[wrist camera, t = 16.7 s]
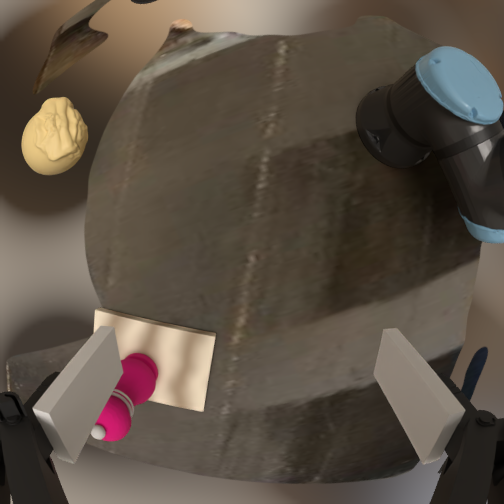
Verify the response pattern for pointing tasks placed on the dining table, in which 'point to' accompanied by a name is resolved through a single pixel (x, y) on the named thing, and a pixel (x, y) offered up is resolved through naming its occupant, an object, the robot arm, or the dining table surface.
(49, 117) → the sculpture
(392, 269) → the dining table surface
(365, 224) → the dining table surface
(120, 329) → the serving board
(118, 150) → the dining table surface
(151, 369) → the pepper mill
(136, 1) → the milk frother
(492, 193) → the robot arm
